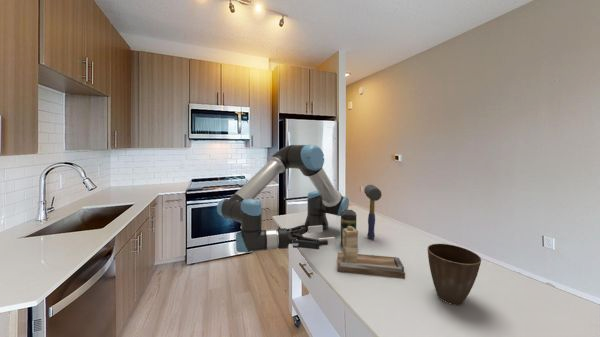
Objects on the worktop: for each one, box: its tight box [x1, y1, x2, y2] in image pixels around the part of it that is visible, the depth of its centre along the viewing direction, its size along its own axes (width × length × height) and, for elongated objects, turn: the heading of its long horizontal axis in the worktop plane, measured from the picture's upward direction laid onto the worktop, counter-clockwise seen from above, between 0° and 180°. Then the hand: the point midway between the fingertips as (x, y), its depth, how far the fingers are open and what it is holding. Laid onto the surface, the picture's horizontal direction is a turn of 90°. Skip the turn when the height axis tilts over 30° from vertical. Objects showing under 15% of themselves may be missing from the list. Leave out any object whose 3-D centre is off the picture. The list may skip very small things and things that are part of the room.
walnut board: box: [337, 252, 406, 279], centre depth 97 cm, size 13×26×4 cm, turn 80°
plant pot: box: [427, 243, 482, 306], centre depth 77 cm, size 15×15×16 cm
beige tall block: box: [341, 226, 359, 263], centre depth 97 cm, size 4×5×15 cm
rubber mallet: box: [363, 184, 382, 240], centre depth 126 cm, size 12×8×30 cm, turn 175°
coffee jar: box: [340, 209, 357, 248], centre depth 117 cm, size 10×8×19 cm
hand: (328, 234), depth 94 cm, fingers open, 13 cm apart
